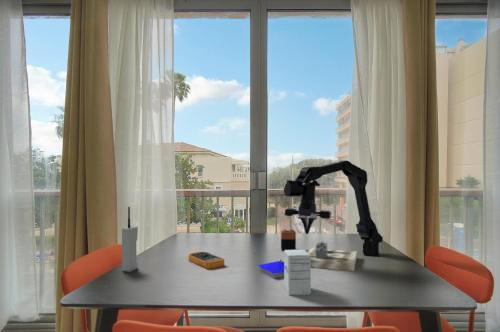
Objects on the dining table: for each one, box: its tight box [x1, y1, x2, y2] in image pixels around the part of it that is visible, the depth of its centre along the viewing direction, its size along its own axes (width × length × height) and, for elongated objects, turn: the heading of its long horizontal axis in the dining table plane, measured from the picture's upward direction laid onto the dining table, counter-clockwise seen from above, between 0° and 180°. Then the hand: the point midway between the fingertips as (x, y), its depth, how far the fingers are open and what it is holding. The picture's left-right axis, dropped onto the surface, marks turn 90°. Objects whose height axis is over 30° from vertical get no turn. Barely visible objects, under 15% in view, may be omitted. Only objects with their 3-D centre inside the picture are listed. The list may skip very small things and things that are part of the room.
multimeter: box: [187, 251, 225, 270], centre depth 145 cm, size 9×18×3 cm, turn 37°
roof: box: [256, 259, 284, 279], centre depth 132 cm, size 12×12×5 cm
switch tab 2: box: [316, 246, 328, 259], centre depth 142 cm, size 4×5×4 cm
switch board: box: [307, 247, 358, 272], centre depth 146 cm, size 20×20×3 cm
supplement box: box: [283, 249, 312, 296], centre depth 112 cm, size 7×7×13 cm
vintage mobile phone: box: [121, 206, 139, 273], centre depth 136 cm, size 4×5×25 cm
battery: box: [280, 228, 297, 252], centre depth 167 cm, size 4×7×10 cm, turn 91°
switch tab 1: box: [315, 240, 328, 249], centre depth 152 cm, size 4×5×4 cm
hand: (307, 233), depth 145 cm, fingers closed
